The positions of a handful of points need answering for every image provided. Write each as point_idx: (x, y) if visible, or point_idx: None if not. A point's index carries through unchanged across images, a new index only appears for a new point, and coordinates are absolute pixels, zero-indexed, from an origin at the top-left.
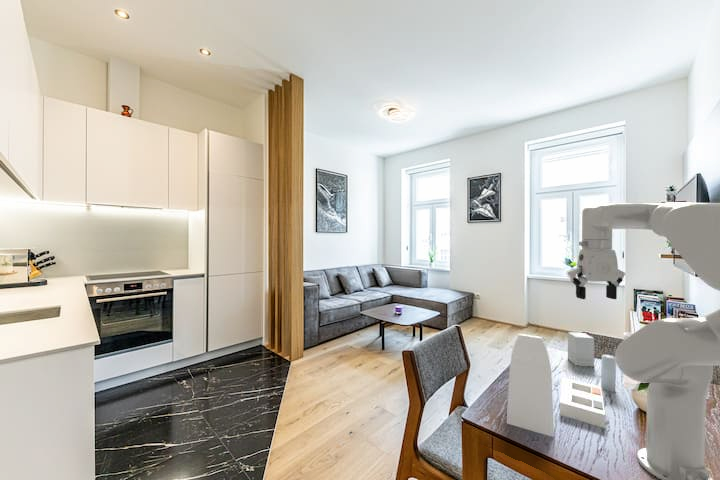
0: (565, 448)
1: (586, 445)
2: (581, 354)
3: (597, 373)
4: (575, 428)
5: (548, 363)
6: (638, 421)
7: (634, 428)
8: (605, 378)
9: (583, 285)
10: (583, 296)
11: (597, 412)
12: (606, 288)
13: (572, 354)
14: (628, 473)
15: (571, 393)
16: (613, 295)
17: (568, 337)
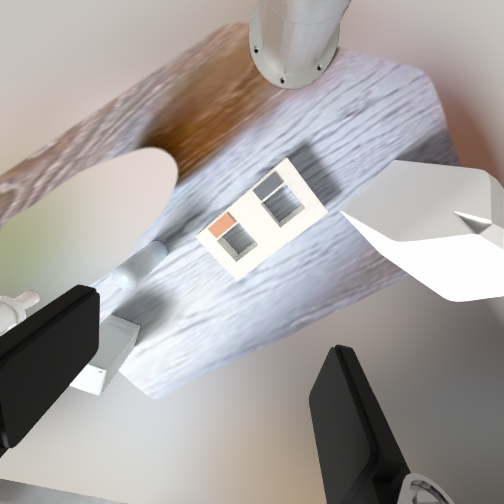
0: (404, 131)
1: (362, 128)
2: (119, 337)
3: (125, 295)
4: (334, 170)
5: (492, 185)
6: (206, 159)
7: (234, 145)
8: (158, 256)
9: (406, 491)
10: (357, 364)
11: (293, 167)
12: (39, 417)
13: (129, 346)
14: (368, 55)
15: (276, 231)
16: (78, 311)
17: (108, 383)
